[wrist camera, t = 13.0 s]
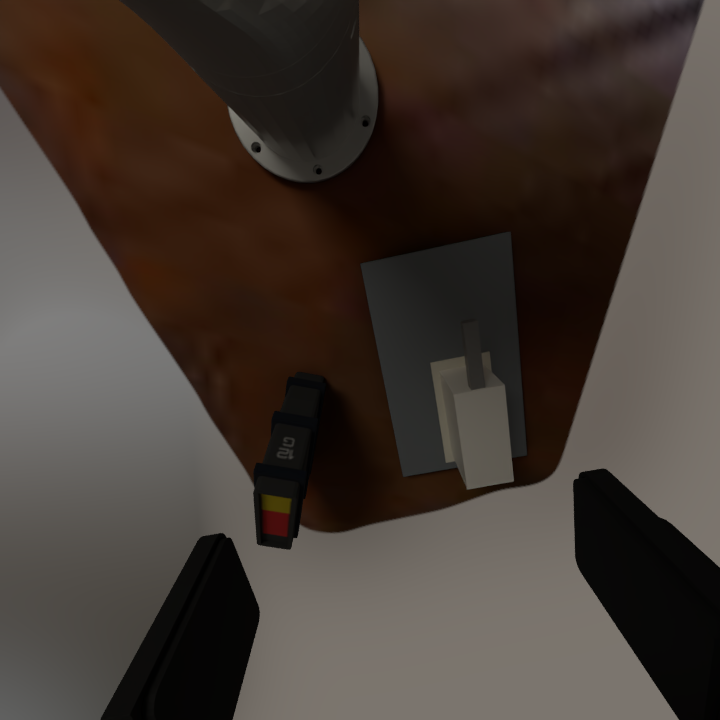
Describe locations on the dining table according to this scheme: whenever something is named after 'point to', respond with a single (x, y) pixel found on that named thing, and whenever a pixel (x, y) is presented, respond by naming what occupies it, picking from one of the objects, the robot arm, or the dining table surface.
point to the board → (443, 338)
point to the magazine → (288, 462)
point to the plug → (477, 416)
